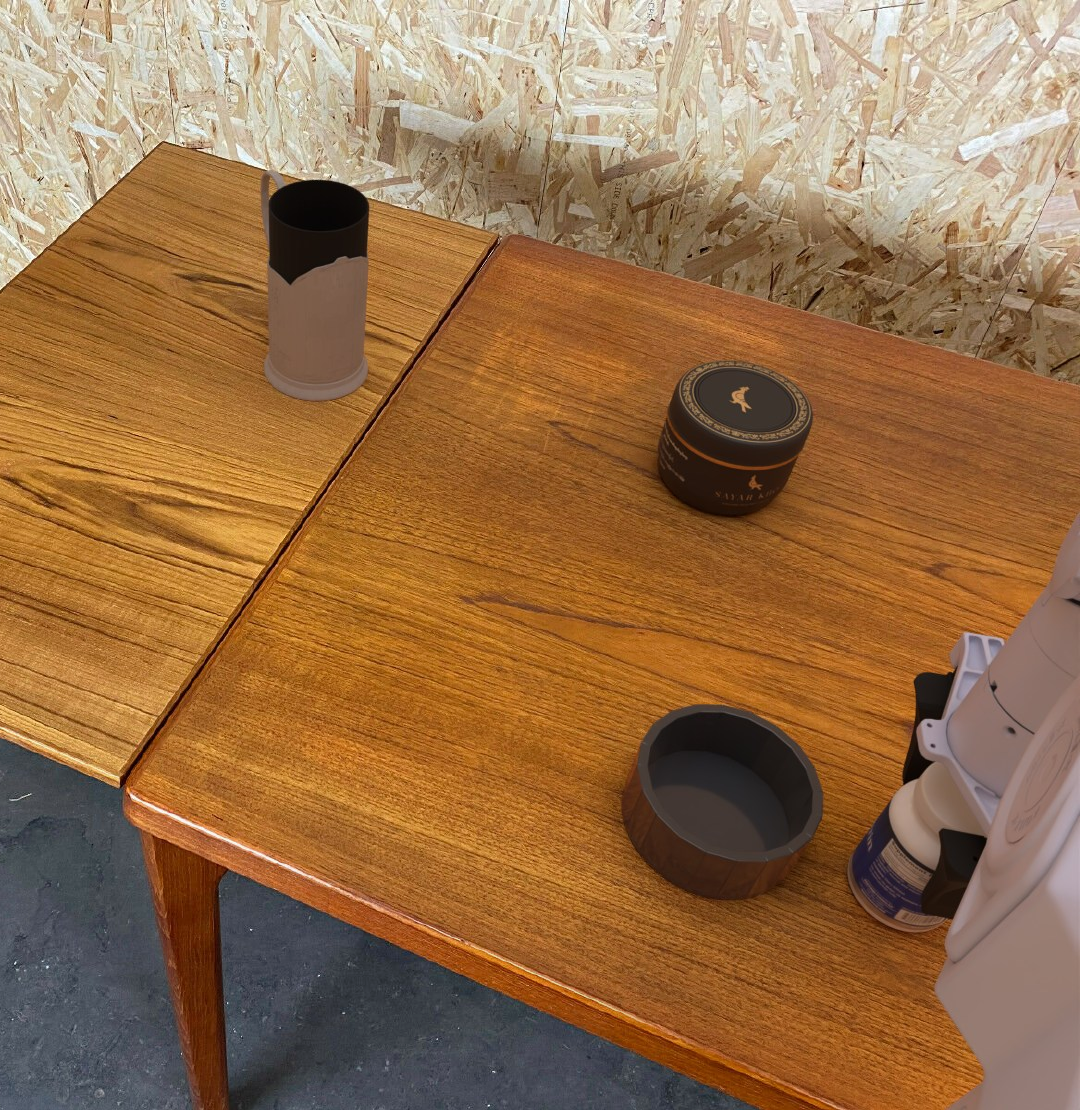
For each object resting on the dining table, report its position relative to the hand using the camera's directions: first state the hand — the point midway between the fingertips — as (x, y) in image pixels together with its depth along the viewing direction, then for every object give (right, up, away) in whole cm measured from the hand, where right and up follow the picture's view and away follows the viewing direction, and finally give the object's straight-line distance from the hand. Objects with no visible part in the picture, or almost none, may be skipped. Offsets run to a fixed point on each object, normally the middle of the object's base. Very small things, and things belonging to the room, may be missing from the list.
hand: (930, 845), depth 61 cm
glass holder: (-35, +33, +36) cm, 60 cm away
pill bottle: (0, -4, +4) cm, 5 cm away
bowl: (-10, 0, +6) cm, 12 cm away
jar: (-3, +21, +27) cm, 34 cm away
